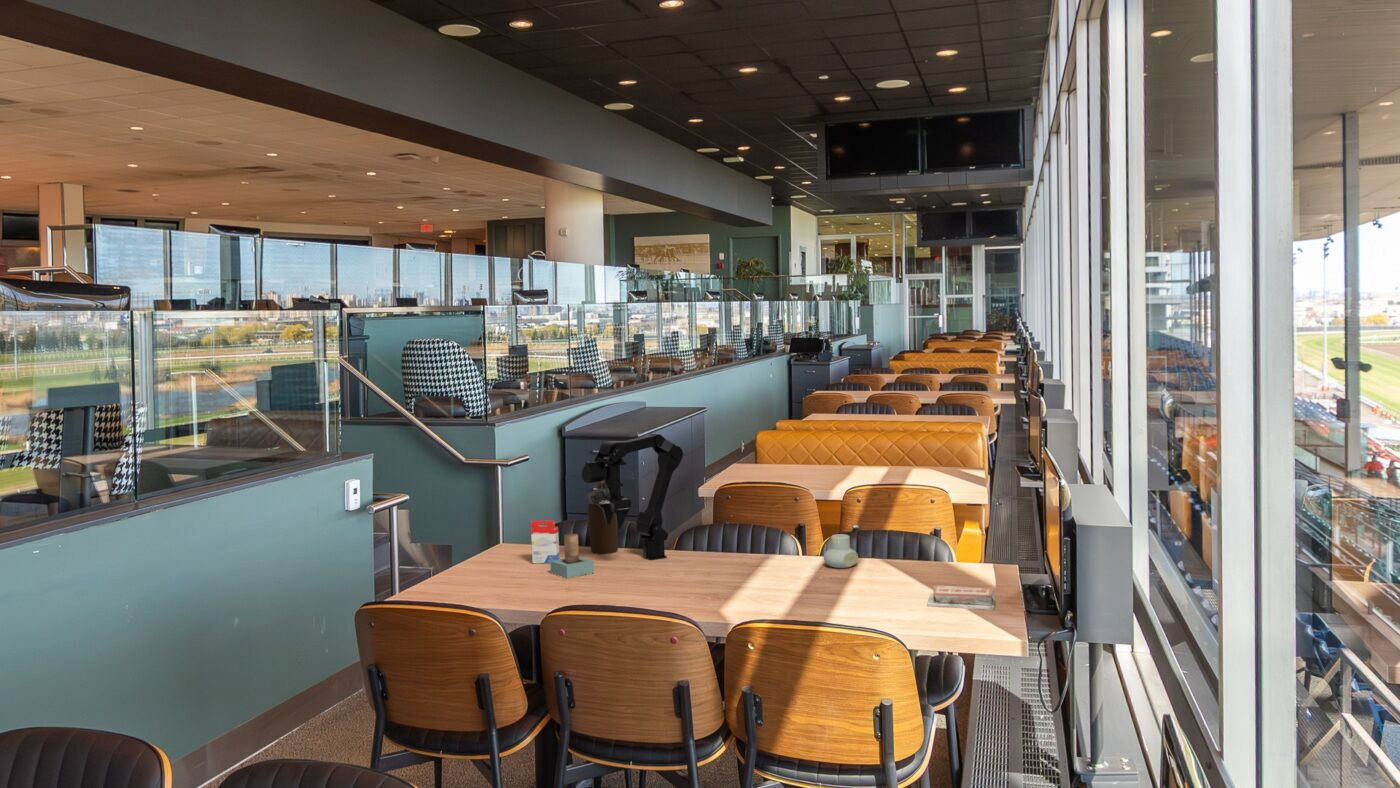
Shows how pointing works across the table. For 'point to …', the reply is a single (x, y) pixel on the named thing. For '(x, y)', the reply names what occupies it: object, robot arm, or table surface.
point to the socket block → (572, 568)
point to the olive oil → (602, 530)
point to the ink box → (544, 542)
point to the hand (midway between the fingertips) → (614, 526)
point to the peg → (571, 548)
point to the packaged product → (962, 597)
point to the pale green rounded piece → (840, 552)
